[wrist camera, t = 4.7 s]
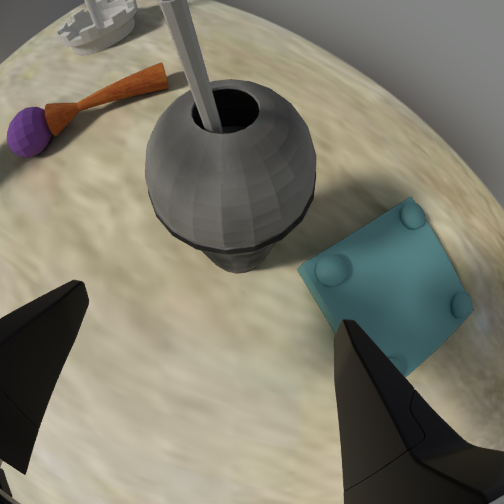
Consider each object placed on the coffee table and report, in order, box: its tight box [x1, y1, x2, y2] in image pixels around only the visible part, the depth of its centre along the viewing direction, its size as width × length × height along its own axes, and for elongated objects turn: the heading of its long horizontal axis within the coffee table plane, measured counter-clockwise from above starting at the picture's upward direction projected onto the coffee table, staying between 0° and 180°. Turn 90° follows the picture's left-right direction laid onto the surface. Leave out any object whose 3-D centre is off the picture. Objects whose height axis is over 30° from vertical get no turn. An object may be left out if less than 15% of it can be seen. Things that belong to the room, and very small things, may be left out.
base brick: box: [297, 197, 474, 377], centre depth 21 cm, size 12×12×3 cm
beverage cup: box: [145, 0, 316, 273], centre depth 13 cm, size 7×7×20 cm
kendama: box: [7, 62, 168, 158], centre depth 25 cm, size 6×6×20 cm
